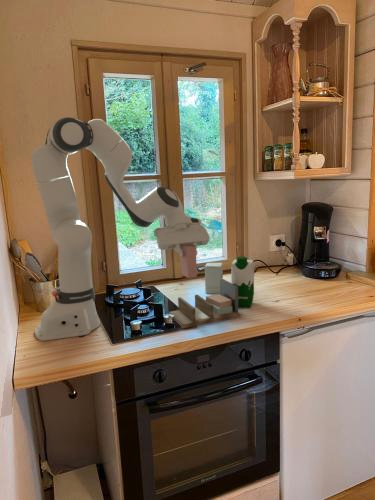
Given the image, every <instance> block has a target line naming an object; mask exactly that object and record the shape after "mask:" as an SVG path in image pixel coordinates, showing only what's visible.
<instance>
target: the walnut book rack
mask: <svg viewBox="0 0 375 500" xmlns="http://www.w3.org/2000/svg"><path fill="white" fill-rule="evenodd" d="M177 305H178V306H177V307H178V310H173V311H168V315H169V314H172V315H174V319H175V321H176V322H177V323H178V324H179V325H180V326H181V327H180V326H179V325H178V324H177V323H176V322H175V323H176V324H177V325H178V326H179V327H180V328H181V329H187V328H191V327H197V326H202V325H207V324H212V323H218V322H222V321H227V320H231V319H233V320H234V319H236V318H241V313H240V312H239V311H238V313H235V312H233V311H232V313H227V314H222V315H217V314H215V313H214V312H213V305H212V304H211V303H209V302H208V301H206V298H205V299H204V298H203V297H201V296H200V295H199V294H194V306H193V305H191V304H190V303H189V302H187V301H186V300H185V299H184V298H183V297H180V296H179V297H177Z"/></svg>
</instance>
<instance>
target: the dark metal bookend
mask: <svg viewBox="0 0 375 500" xmlns="http://www.w3.org/2000/svg"><path fill="white" fill-rule="evenodd" d="M219 295H221V296H224V297H226V298H228V299H231V300H232V305H231V306H232V311H233V312H235V313H238V312H239V308H238V286H236V285H234V284H232V283H231V282H229V281H228V280H226V279H220V294H219Z"/></svg>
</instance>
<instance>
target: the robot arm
mask: <svg viewBox="0 0 375 500" xmlns="http://www.w3.org/2000/svg"><path fill="white" fill-rule="evenodd" d="M44 143H45V144H44V145H40V146H38V147H36V148H35V149H33V150H32V152H31V154H30V160H31V168H32V172H33V176H34V180H35V183H36V186H37V189H38V193H39V195H40V198H41V201H42V205H43V208H44V211H45V215H46V220H47V223H48V226H49V230H50V234H51V237H52V239H53V241H54V242H55V243H56V245H57V250H58V251H57V253H58V258H57V259H58V266H57V272H58V280H59V281H58V282H59V290H56V289H53V290H52V291H51V294H52V296H53V297H54V302H53V303H52V304H51V305H50V306H49V307H47V309H46V310H44V311H43V312H42V314H41V317H40V324H39V325H37V326H36V327H35V328H34V336H35V338H36V339H38V340H39V341H43V342H44V341H54V340H59V339H65V338H72V337H80V336H86V335H87V336H88V335H89V334H90V333H91V332H92V331H93V330H95V329H97V328H98V327H99V326H100V325H101V321H100V319H99V315H98V313H97V309H96V304H95V302H96V293H95V287H94V286H93V278H92V276H93V275H92V262H91V261H92V247H93V246H92V243H93V235H92V231H91V229H90V228H89V226H88V225H87V224H86V223H84V222H83V221H82V220H81V219H82V218H81V215H80V210H79V205H78V197H77V194H76V190H75V187H74V184H73V180H72V177H71V174H70V171H69V168H68V163H67V159H68V156H69V155H72V154H75V153H77V152H80V151H82V150H84V149H86V150H89V152H91V153H93V154H94V156H95V157H96V158H97V159H98V160H99V161H100V162H101V164H102V166H103V167H104V168H103V169H104V170H105V172H104V178H105V181H106V183H107V185H109V187H110V189H111V191H112V192H113V194H114V195H115V196H116V198H117V199H118V201H119V202H120V203H121V205H122V206H123V208H124V209H125V211H126V212H127V215H128V216H129V218H130V220H131V221H132V223H133V224H134V225H135V226H136V227H141V228H148V227H149V226H150V225H152V224H153V223H154V222H155V221H156V220H158V219H159V218H160V217H163V219H164V224H165V226H163V227H157V228H155V229H154V230H153V234H154V236H155V238H156V243H157V248H158V249H159V250H160V251H163V250H165V251H166V250H173V249H174V251H175V252H176V253H177V254H179V256H180V258H181V257H185V253H184V251H182V250H181V246H185V245H191V246H193V247H196V256H198V250H197V249H198V246H199V247H200V246H206V245H208V243H209V242H210V235H209V233H208V230H207V229H206V227H205V226H204V225H203V224H202V220H201V219H200V218H197V217H192V216H188V215H187V214H186V213H185V210H184V206H183V204H182V201H181V199H180V198H179V196H178V194H177V193H176V192H175V191H174V190H172V189H170V188H169V187H165V186H157V187H155V188H154V189H153V190H151V191H149V192H148V193H147V194H146V195H145V196H143V197H142V198H141V199H140V200H136V199H134V197H133V196H132V194H131V192H129V190H128V188H127V187H126V185H125V182H124V178H125V176H126V174H127V172H128V171H129V168H130V166H131V164H132V161H133V153H132V149H131V147H130V146H129V144H128V143H127V142H126V140H124V138H123V137H122V136H121V135H120V134H119V133H118V132H117V131H116V130H115V129H114V128H113V127H112V126H111V125H109V124H108V123H107V122H105V121H104V120H103V119H101V118H94V119H92V120H89V121H88V122H85V121H82V120H79V119H77V118H74V117H70V116H69V117H68V116H67V117H62V118H60V119H57V120H56V121H54V122H53V123H52V125H50V127H49V128H48V131H47V134H46V138H45V142H44Z"/></svg>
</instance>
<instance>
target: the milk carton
mask: <svg viewBox="0 0 375 500" xmlns="http://www.w3.org/2000/svg"><path fill="white" fill-rule="evenodd" d="M230 266H231V267H230V269H231V272H230V273H231V276H230V281H231V282H230V283H232V284H234V285H236V286H238V309H239V308H242V309H251V307H252V305H253V302H254V301H253V300H254V294H255V272H254V271H255V267H254V260H253V259H248V257H247V256H238V257H236V259H233V261H232V262H231V265H230Z"/></svg>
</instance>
